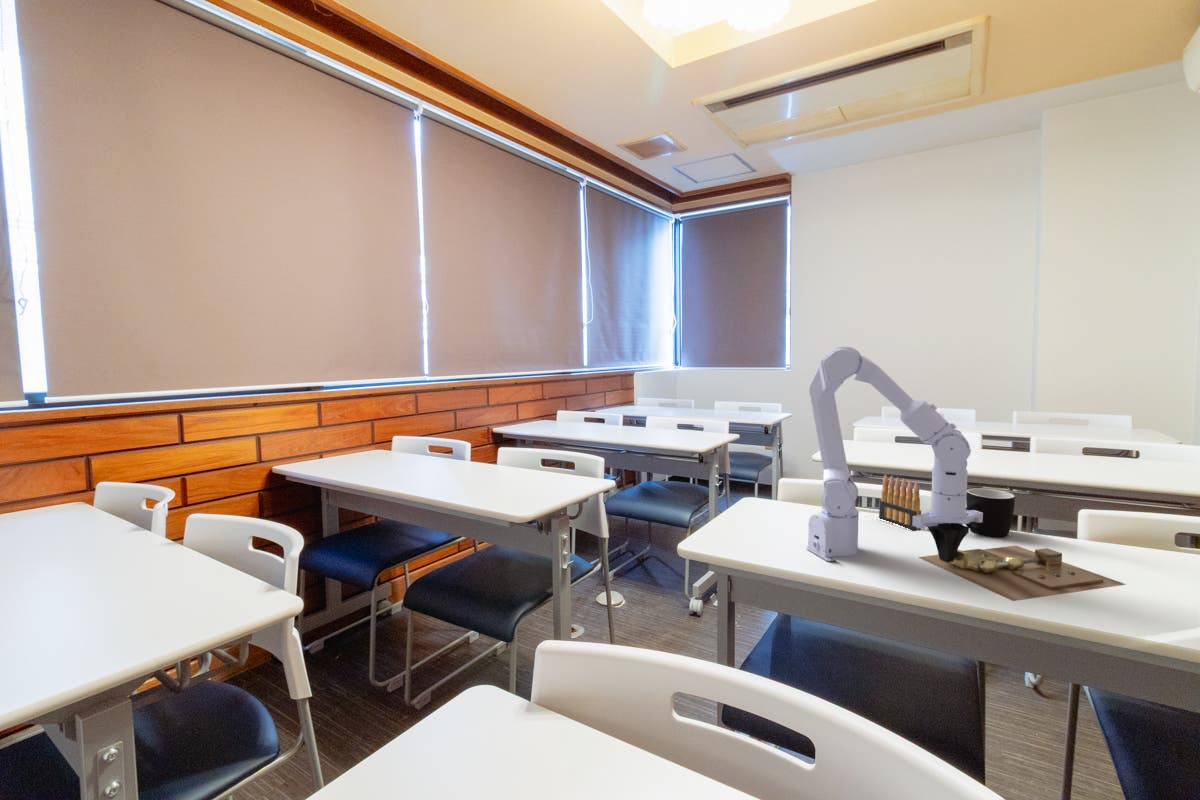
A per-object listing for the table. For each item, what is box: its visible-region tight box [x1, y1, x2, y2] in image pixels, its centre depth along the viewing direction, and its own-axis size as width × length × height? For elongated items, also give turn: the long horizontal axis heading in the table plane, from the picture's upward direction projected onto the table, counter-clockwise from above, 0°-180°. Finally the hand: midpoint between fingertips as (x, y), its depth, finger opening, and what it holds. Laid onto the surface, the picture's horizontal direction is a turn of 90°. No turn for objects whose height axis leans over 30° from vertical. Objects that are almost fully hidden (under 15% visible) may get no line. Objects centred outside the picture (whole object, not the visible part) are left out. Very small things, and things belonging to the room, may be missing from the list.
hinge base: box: [1012, 547, 1103, 590], centre depth 99 cm, size 12×10×3 cm
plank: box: [918, 545, 1126, 602], centre depth 102 cm, size 25×20×1 cm
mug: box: [965, 487, 1016, 539], centre depth 122 cm, size 12×9×10 cm
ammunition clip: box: [878, 473, 922, 532], centre depth 131 cm, size 11×2×12 cm, turn 19°
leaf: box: [937, 548, 1040, 573], centre depth 105 cm, size 15×10×3 cm, turn 103°
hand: (946, 560), depth 104 cm, fingers closed
